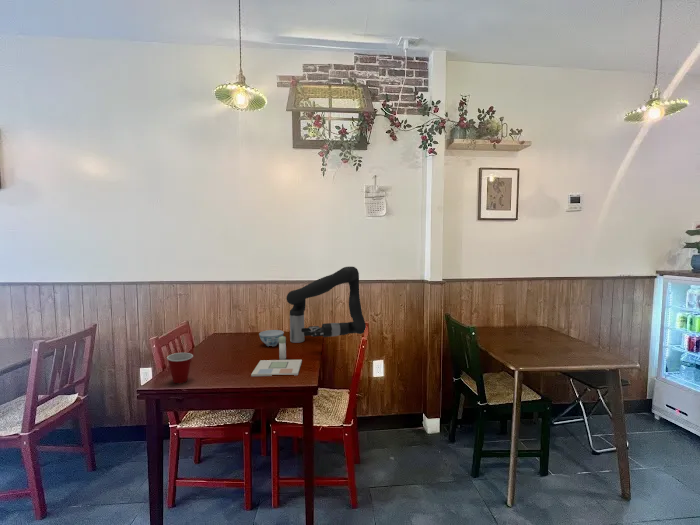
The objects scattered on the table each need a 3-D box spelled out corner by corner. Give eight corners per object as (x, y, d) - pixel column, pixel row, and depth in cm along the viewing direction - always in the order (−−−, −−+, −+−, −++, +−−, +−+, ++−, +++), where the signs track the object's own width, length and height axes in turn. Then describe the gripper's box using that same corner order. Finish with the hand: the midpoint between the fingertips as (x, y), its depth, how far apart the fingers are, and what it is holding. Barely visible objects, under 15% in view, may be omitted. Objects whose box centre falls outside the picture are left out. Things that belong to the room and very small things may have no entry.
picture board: (260, 362, 184) (260, 360, 184) (302, 361, 185) (301, 359, 185) (251, 376, 164) (251, 374, 164) (297, 375, 165) (297, 373, 165)
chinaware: (281, 348, 208) (280, 335, 208) (256, 348, 209) (256, 336, 208) (286, 341, 223) (286, 329, 223) (263, 341, 224) (262, 329, 223)
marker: (279, 357, 191) (279, 336, 191) (286, 357, 191) (286, 336, 191) (278, 359, 188) (278, 338, 187) (285, 359, 188) (285, 337, 187)
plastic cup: (183, 386, 153) (182, 360, 152) (162, 385, 155) (161, 358, 154) (198, 377, 163) (198, 352, 163) (178, 376, 165) (177, 351, 165)
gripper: (328, 320, 204) (300, 322, 199) (334, 326, 190) (304, 328, 185) (328, 333, 204) (300, 335, 199) (334, 339, 190) (304, 342, 186)
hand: (302, 332), depth 192 cm, fingers open, 8 cm apart
